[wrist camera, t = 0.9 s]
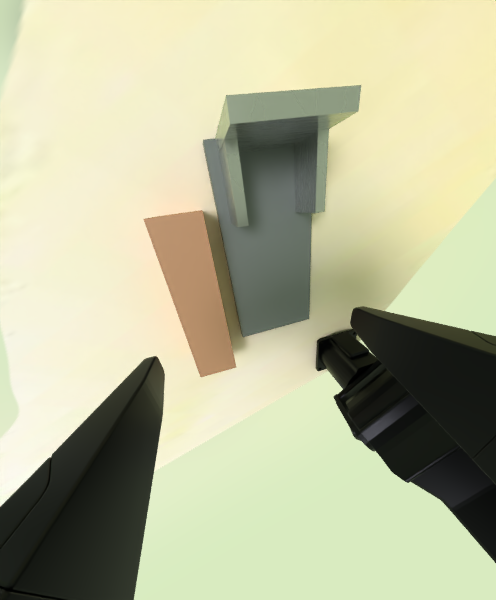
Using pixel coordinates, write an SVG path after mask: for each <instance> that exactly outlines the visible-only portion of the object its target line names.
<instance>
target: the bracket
mask: <svg viewBox="0 0 496 600" xmlns="http://www.w3.org/2000/svg"><path fill="white" fill-rule="evenodd" d="M360 91H361V85H357V86H344V87H331V88H317V89H304V90H291V91H278V92H265V93H252V94H238V95H226V97H225V101H224V105H223V109H222V113H221V117H220V121H219V125H218V129H217V133H216V137H215V141H216V146H217V152H218V155H219V160H220V165H221V171H222V177H223V182H224V188H225V194H226V199H227V205H228V211H229V216H230V222H231V224H232V225H234V226H236V227H243V226H249V224H248V217H247V209H246V202H245V194H244V186H243V179H242V171H241V164H240V156H239V153H240V152H249V151H257V150H265V149H273V148H281V147H289V146H294V190H295V212H300V213H319V212H324V211H325V193H326V174H327V155H328V136H329V129H330V128H332V127H333V126H335V125H337V124H338V123H340V122H342V121H343V120H345V119H346V118H348V117H350V116H351V115H353V114H355V113H356V112H358V110H359V100H360Z"/></svg>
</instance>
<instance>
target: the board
mask: <svg viewBox="0 0 496 600" xmlns="http://www.w3.org/2000/svg"><path fill="white" fill-rule="evenodd" d="M203 146H204V151H205V156H206V161H207V166H208V171H209V176H210V181H211V185H212V190H213V195H214V200H215V205H216V210H217V215H218V220H219V225H220V229H221V234H222V239H223V244H224V249H225V254H226V259H227V264H228V269H229V274H230V278H231V283H232V288H233V293H234V298H235V303H236V308H237V313H238V318H239V322H240V327H241V332H242V335H243V337H245V336H249V335H253V334H256V333H260V332H263V331H267V330H271V329H274V328H278V327H281V326H285V325H289V324H292V323H296V322H299V321H303V320H307V319H309V305H310V258H311V213H300V212H295V190H294V146H289V147H281V148H273V149H265V150H257V151H249V152H240V153H239V156H240V164H241V171H242V179H243V186H244V194H245V202H246V209H247V217H248V224H249V226H243V227H236V226H234V225H232V224H231V222H230V216H229V211H228V205H227V199H226V194H225V188H224V182H223V177H222V171H221V165H220V160H219V155H218V152H217V146H216V141H215V139H207V140H203Z"/></svg>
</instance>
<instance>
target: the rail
mask: <svg viewBox="0 0 496 600" xmlns="http://www.w3.org/2000/svg"><path fill="white" fill-rule="evenodd" d="M144 222H145V225H146V227H147V230H148V233H149V236H150V238H151V241H152V244H153V247H154V249H155V252H156V255H157V258H158V260H159V263H160V266H161V269H162V272H163V274H164V277H165V280H166V283H167V285H168V288H169V291H170V294H171V296H172V299H173V302H174V305H175V307H176V310H177V313H178V316H179V319H180V321H181V324H182V327H183V330H184V332H185V335H186V338H187V341H188V343H189V346H190V349H191V352H192V355H193V357H194V360H195V363H196V366H197V368H198V371H199V374H200V377H204V376H207V375H211V374H214V373H218V372H221V371H225V370H228V369H232V368H235V367H236V364H235V359H234V354H233V350H232V345H231V340H230V336H229V331H228V327H227V322H226V317H225V313H224V308H223V303H222V299H221V294H220V290H219V285H218V280H217V276H216V271H215V266H214V262H213V257H212V252H211V248H210V243H209V239H208V234H207V229H206V225H205V220H204V215H203V211H202V210H201V211H194V212H187V213H179V214H172V215H165V216H158V217H152V218H147V219H144Z"/></svg>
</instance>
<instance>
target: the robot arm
mask: <svg viewBox="0 0 496 600" xmlns="http://www.w3.org/2000/svg"><path fill="white" fill-rule="evenodd" d="M350 324H351V327H352V328H353V329H352V330H349V331H345V332H342V333H339V334H335V335H332V336H329V337H325V338H322V339H319V340H318V341H317V355H316V369H317V371H321V370H324V369H327V370H328V371H329V372H330V373H331V374H332V376H333V377H334V378H335V380H336V381H337V382H338V383H339V384H340V386H341V387H342V388H343V390H342V391H341V392H340V393H339V394H336V395H335V396H334V399H335V401H336V404H337V406H338V408H339V409H340V411H341V413H342V414H343V416H344V418H345V420H346V421H347V423H348V425H349V427H350V429H351V431H352V434H353V436H354V437H355V438H356V439H357V440H360V441H362V442H363V443H364V444H365V445H366V446H367V447H368V448H369V449H370V450H372V451H376V452H377V453H378V454H379V456H380V457H381V458H382V459H383V461H384V462H385V463H386V465H387V466H388V467H389V469H390V470H391V471H392V472H393V473H394V474H395V475H397V476H398V477H400V478H401V479H402V480H404V481H405V482H407V483H409V482H410V481H411V482H412V483H414V484H415V485H417V486H419V487H420V488H422V489H424V490H425V491H427V492H429V493H431V494H432V495H434V496H435V497H437V498H438V499H440V500H441V501H442V502H443V503H444V504H445V505H446V506H447V507H448V508H449V509H450V511H451V512H452V513H453V514H454V515H455V516H456V518H457V519H458V520H459V521H460V522H461V523H462V524H463V526H464V527H465V528H466V529H467V530H468V531H469V532H470V534H471V535H472V536H473V537H474V538H475V540H476V541H477V542H478V543H479V544H480V545H481V546H482V548H483V549H484V550H485V551H486V552H487V553H488V555H489V556H490V557H491V558H492V559H493V560H494V561H495V563H496V336H492V335H487V334H483V333H479V332H474V331H469V330H465V329H461V328H456V327H452V326H447V325H443V324H439V323H434V322H429V321H425V320H421V319H416V318H412V317H407V316H403V315H398V314H394V313H390V312H386V311H381V310H377V309H372V308H368V307H363V306H362V307H357V308H354V309H353V311H352V316H351V321H350ZM357 335H358V336H359V337H360V338H361V340H362V341H363V342H364V343H365V344H366V346H367V347H368V348H369V350H370V351H371V352H372V353H373V354H374V355H375V356H374V355H373V354H371V353H370V352H369V350H368V349H367V348H366V347H365V346H364V345H362V344H361V343H360V342H359V341H358V340H356V336H357ZM164 380H165V374H164V370H163V367H162V365H161V363H160V361H159V359H158V357H156V356H154V357H149V358H146V359H144V360H143V361H142V362H141V363H140V364H139V366H138V367H137V368H136V369H135V370H134V371H133V372H132V373H131V374H130V375H129V376H128V377H127V378H126V379H125V380H124V381H123V382H122V383H121V384H120V385H119V386H118V387H117V388H116V389H115V390H114V391H113V392H112V393H111V394H110V395H109V396H108V397H107V398H106V399H105V401H104V402H103V403H102V404H101V405H100V406H99V407H98V408H97V409H96V410H95V411H94V412H93V413H92V414H91V415H90V416H89V417H88V418H87V419H86V420H85V421H84V422H83V423H82V424H81V425H80V426H79V427H78V428H77V429H76V430H75V431H74V432H73V433H72V434H71V436H70V437H69V438H68V439H67V440H66V441H65V442H64V443H63V444H62V445H61V446H60V447H59V448H58V449H57V450H56V451H55V452H54V453H53V454H52V457H50V458H48V459H47V460H46V461H45V462H44V463H43V464H42V465H41V466H40V467H39V468H38V469H37V470H36V471H35V472H34V473H33V475H32V476H31V477H30V478H29V479H28V480H27V481H26V482H25V483H24V484H23V485H22V486H21V487H20V488H19V489H18V490H17V491H16V492H15V493H14V494H13V495H12V496H11V497H10V498H9V499H8V500H7V501H6V502H5V503H4V504H3V505H2V506H1V507H0V600H134V594H135V587H136V581H137V575H138V569H139V562H140V556H141V550H142V543H143V537H144V530H145V524H146V518H147V512H148V505H149V499H150V493H151V486H152V479H153V474H154V467H155V461H156V455H157V448H158V442H159V436H160V430H161V423H162V416H163V402H164Z"/></svg>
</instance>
